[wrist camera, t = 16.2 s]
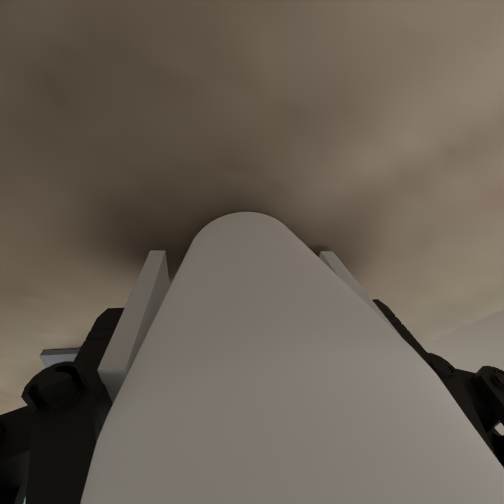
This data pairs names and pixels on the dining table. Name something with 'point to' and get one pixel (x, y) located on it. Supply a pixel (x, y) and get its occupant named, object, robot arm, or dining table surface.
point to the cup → (281, 392)
